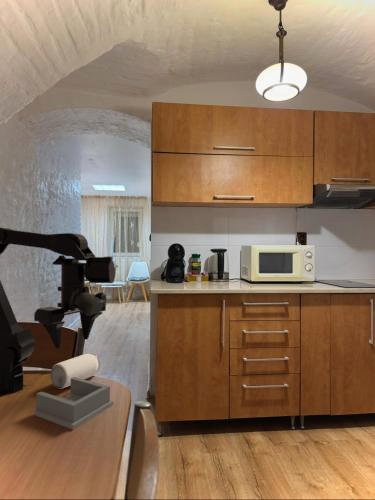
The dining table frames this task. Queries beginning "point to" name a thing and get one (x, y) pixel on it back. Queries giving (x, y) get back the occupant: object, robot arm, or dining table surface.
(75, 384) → the u rest
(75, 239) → the robot arm
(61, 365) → the can
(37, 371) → the dining table surface
